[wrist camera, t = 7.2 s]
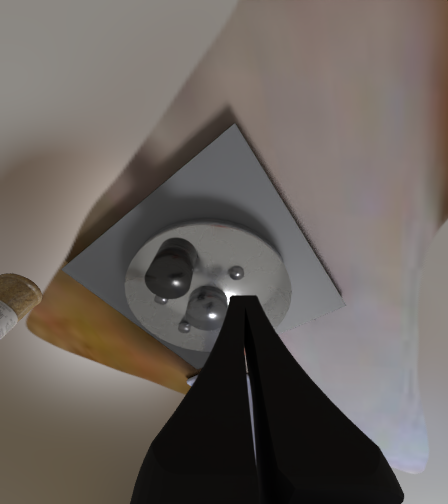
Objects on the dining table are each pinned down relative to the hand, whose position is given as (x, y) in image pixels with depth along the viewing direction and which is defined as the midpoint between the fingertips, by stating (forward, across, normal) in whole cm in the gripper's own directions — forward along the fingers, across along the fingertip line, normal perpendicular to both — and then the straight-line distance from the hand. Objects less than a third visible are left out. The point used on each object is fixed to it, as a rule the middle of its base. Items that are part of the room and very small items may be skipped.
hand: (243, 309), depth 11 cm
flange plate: (+8, +2, +6) cm, 10 cm away
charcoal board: (+9, +3, +6) cm, 11 cm away
